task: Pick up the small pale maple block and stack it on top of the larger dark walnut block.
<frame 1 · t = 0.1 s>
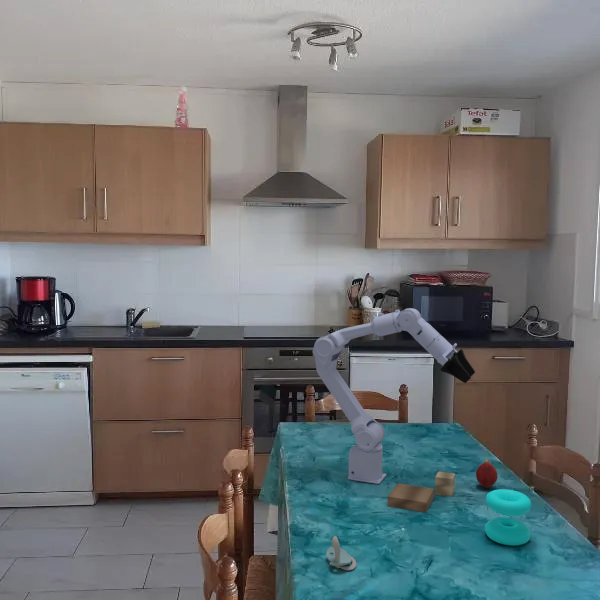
hand: (470, 377, 166), 32 cm above the table, tool tilted 50°, fingers open, 7 cm apart
pacifier: (341, 565, 130), on the table
walnut block: (411, 503, 163), on the table
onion: (486, 488, 173), on the table
donuts: (507, 538, 143), on the table
maple block: (444, 492, 169), on the table
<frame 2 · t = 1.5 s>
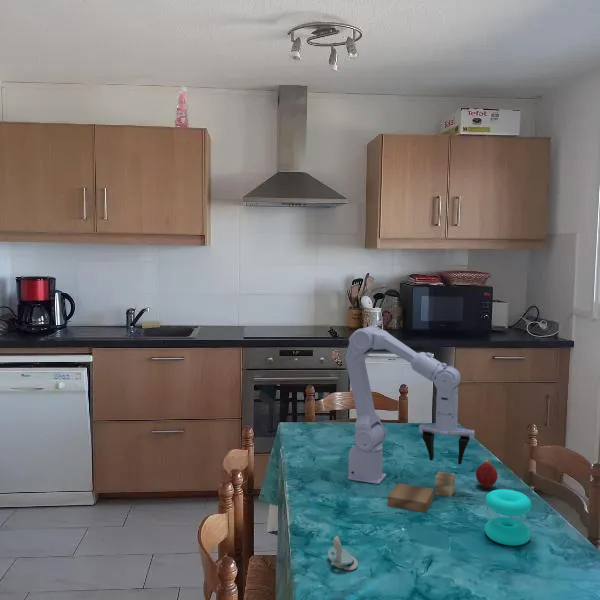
hand: (445, 461, 168), 9 cm above the table, tool pointing down, fingers open, 7 cm apart
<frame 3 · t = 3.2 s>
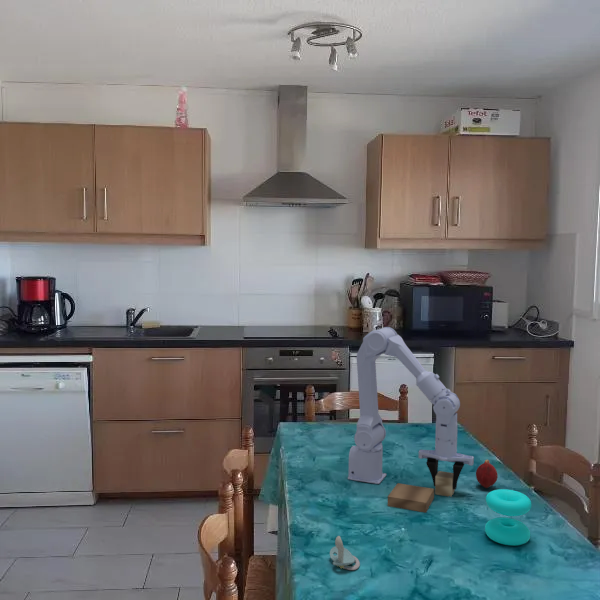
hand: (445, 486, 169), 2 cm above the table, tool pointing down, fingers closed on maple block, 4 cm apart
maple block: (444, 492, 169), on the table, touching gripper
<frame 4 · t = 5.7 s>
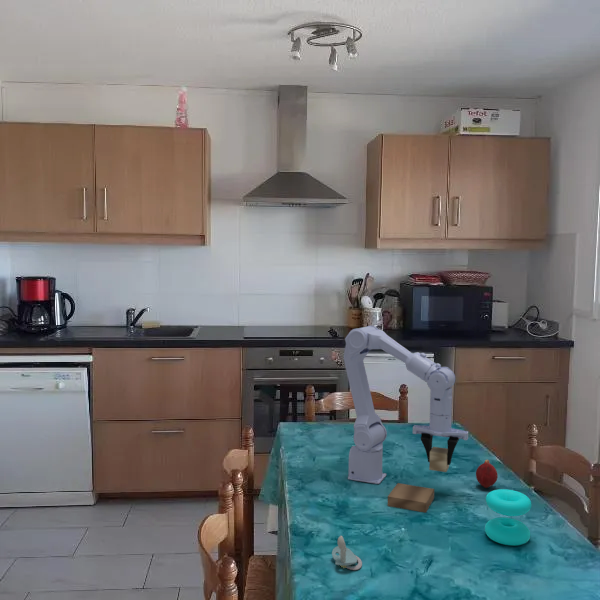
hand: (439, 462, 167), 9 cm above the table, tool pointing down, fingers closed on maple block, 4 cm apart
maple block: (439, 468, 167), point 7 cm above the table, touching gripper
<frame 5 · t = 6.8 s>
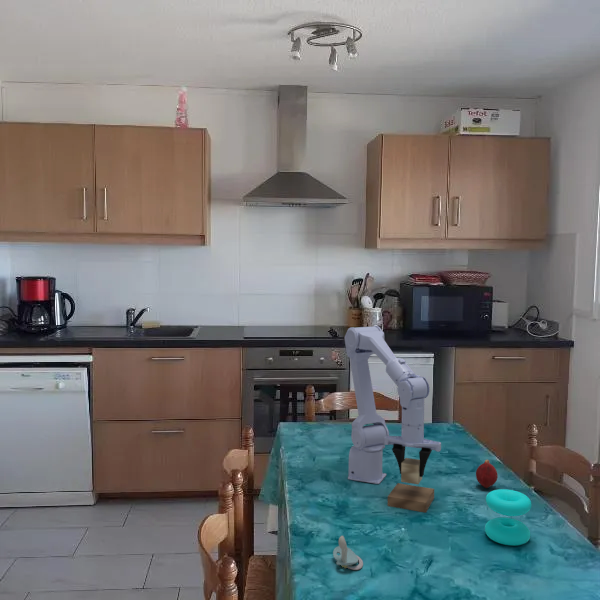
hand: (411, 474, 162), 8 cm above the table, tool pointing down, fingers closed on maple block, 4 cm apart
maple block: (411, 480, 162), point 6 cm above the table, touching gripper
when the fingers open (6 cm above the table, at t = 8.0 s): maple block drops 2 cm, resting on walnut block.
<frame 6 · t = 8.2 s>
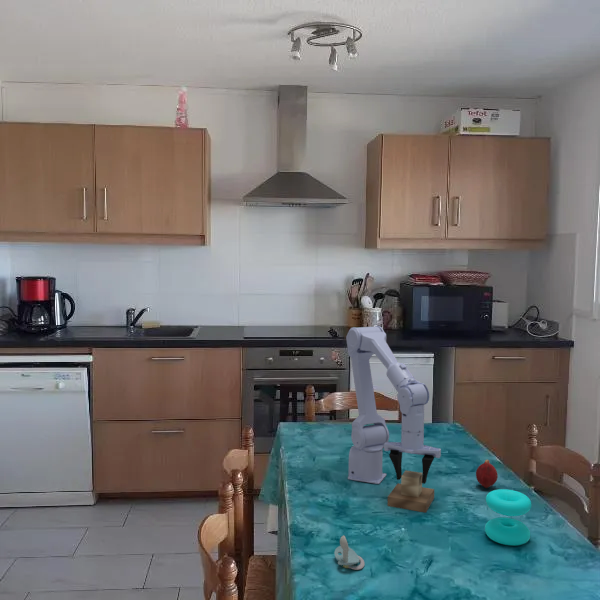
hand: (411, 480, 162), 6 cm above the table, tool pointing down, fingers open, 6 cm apart
walnut block: (411, 503, 163), on the table, touching maple block
maple block: (411, 492, 162), point 2 cm above the table, touching walnut block
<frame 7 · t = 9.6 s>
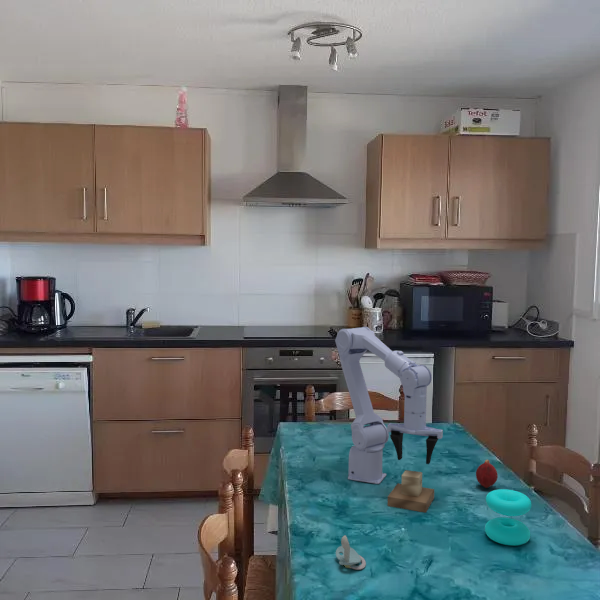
hand: (413, 460, 165), 10 cm above the table, tool pointing down, fingers open, 7 cm apart
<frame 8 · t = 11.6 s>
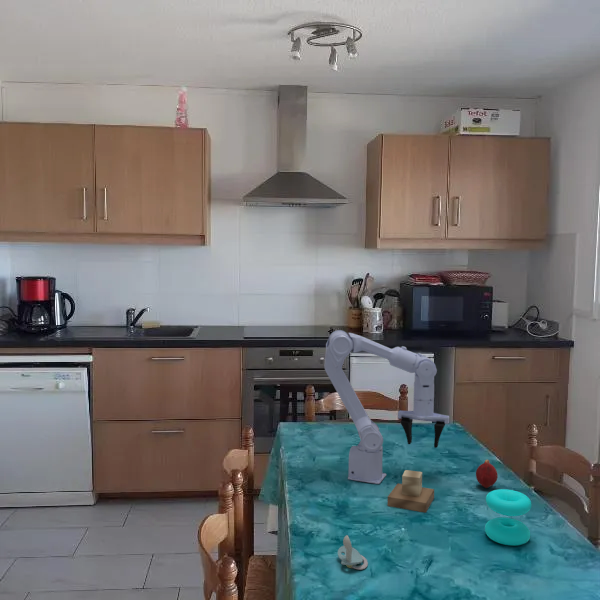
hand: (422, 445, 179), 10 cm above the table, tool pointing down, fingers open, 7 cm apart
walnut block: (411, 503, 163), on the table
maple block: (411, 492, 163), point 2 cm above the table
at the end: maple block 0.4 cm off-centre on the walnut block, point 3.0 cm above the walnut block's base; maple block tilted 0°; the gripper is holding nothing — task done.
